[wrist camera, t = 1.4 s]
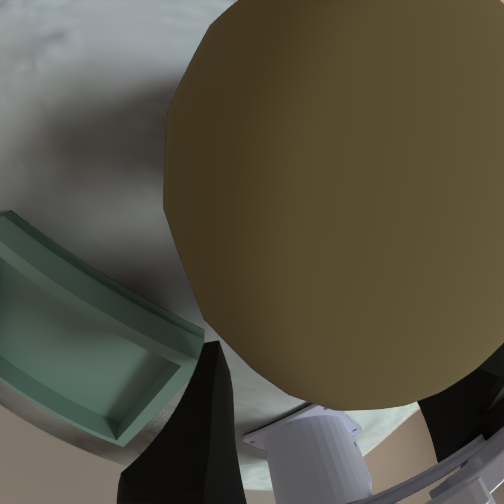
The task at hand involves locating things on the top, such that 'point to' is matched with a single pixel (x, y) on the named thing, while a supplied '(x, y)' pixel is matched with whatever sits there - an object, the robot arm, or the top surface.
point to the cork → (345, 192)
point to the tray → (85, 339)
